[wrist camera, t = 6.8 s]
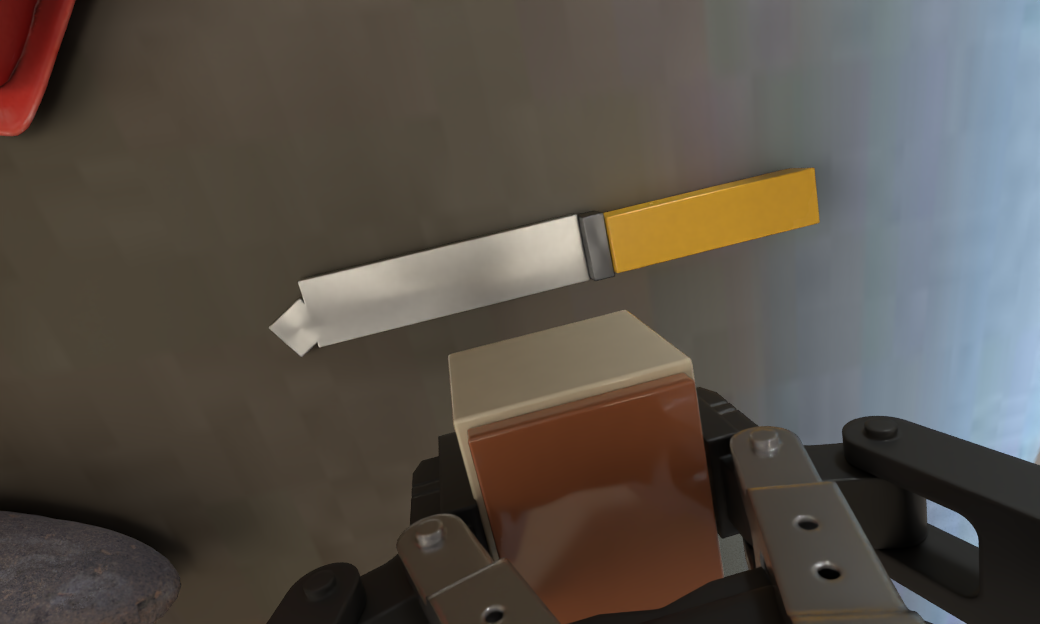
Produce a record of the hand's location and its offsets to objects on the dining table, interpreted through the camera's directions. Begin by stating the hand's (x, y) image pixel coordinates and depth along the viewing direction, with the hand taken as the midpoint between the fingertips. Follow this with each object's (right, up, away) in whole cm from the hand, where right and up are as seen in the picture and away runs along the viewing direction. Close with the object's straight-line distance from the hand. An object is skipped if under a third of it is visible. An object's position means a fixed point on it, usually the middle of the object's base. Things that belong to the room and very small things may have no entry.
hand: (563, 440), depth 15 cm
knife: (0, +6, +14) cm, 15 cm away
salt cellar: (0, 0, +1) cm, 1 cm away
